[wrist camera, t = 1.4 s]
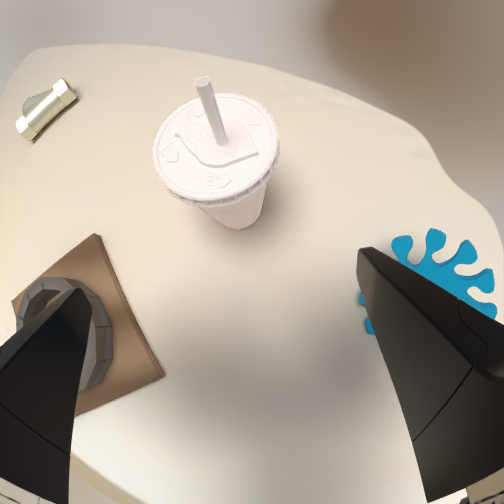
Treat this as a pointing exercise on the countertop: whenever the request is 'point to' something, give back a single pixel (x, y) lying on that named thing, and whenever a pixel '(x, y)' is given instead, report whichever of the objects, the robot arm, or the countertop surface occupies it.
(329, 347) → the countertop surface
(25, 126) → the pipe fitting
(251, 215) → the smoothie
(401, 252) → the gear
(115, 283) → the collar stand
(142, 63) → the countertop surface
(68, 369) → the robot arm
